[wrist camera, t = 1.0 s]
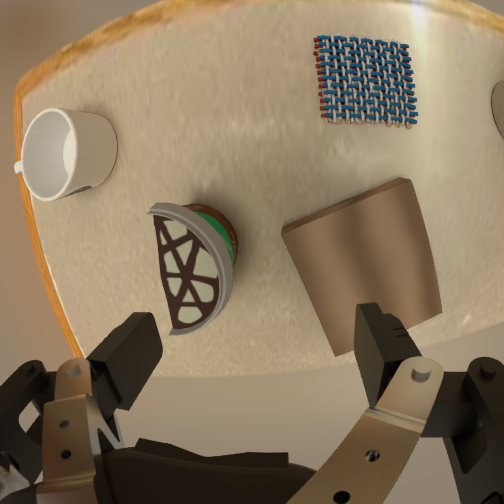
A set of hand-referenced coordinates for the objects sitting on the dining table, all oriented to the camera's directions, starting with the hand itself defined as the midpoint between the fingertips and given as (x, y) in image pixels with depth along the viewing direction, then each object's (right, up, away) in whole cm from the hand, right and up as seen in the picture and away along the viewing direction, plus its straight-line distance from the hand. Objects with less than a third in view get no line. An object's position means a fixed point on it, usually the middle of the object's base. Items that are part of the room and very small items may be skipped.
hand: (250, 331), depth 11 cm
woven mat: (+12, +21, +14) cm, 28 cm away
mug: (-22, +16, +20) cm, 34 cm away
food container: (-3, +4, +21) cm, 22 cm away
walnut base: (+13, +1, +20) cm, 23 cm away
